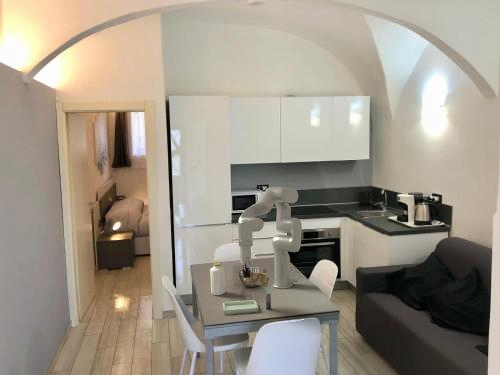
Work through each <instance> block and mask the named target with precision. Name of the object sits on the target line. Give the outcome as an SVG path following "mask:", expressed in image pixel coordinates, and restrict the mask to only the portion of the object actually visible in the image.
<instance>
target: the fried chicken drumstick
mask: <svg viewBox="0 0 500 375" xmlns="http://www.w3.org/2000/svg"><path fill="white" fill-rule="evenodd" d="M243 281H244V282H248V283H252V284H255V285H257V286H260V287H266V288H267V287H268V284H269V281H270V276H268V274H265V273H263V272H262V273H261V272H258V271H256V272H254V271H251V270H250V278H244V277H243Z"/></svg>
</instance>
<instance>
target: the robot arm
mask: <svg viewBox="0 0 500 375" xmlns="http://www.w3.org/2000/svg"><path fill="white" fill-rule="evenodd" d="M298 199H299V193H298V190H297V189H294V188H289V187H285V186H284V187H281V186H270V187H267V188H266V189H265V191H264V193H263V194H262V195H261V197H260V198H259V200H258V201H257V202H256V203H254V204H252V205H251V206H249V207H247V208H246V209H245V210H244V211H243V212H242V213H241V214H240V216H239V219H238V220H237V228H238V229H237V231H238V232H237V233H238V247H239V248H240V249H239V253H240V254H239V262H240V264H241V266H242V276H243V279H244V278H250V271H251V270H250V267H251V265H252V248H251V247H253V245H254V244H253V243H254V242H253V241H254V239H253V237H254V236H253V233H257V232H260V231H262V230H263V228H264V225H265V222H264V220H263V219H262V218H259V217H258V216H263V215H266V214H269V213H270V212H271V210H272V209H273V207H274V206H275V208H276V218H275V219H276V220H275V229H276V231H277V232H279V233H282V234H276V235H274V236H273V238H272V240H271V244H272V245H271V246H272V250H273V258H274V259H273V265H274V268H273V269H274V271H273V272H274V281H273V282H272V284H271V286H272V287H273V288H275V289H289V288H292V287H293V285H294V284H293V283H299V280H298V278H295V277H293V278H291V262H290V261H291V257H290V255H289V253H290V252H291V253H296V252H297V253H298V252H299V251H300V249H301V243H302V234H303V233H302V228H303V226H302V225H303V224H302V221H301V220H300V218H297V217H291V216H292V215H291V213H292V212H291V211H292V208H291V206H290V205H289V204H295V203H296V202H298ZM283 233H284V234H283ZM287 234H291V235H287ZM288 252H289V253H288Z"/></svg>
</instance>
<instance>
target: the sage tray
mask: <svg viewBox="0 0 500 375" xmlns="http://www.w3.org/2000/svg"><path fill="white" fill-rule="evenodd" d="M221 303H222V304H221V305H222V311H223V315H224V316H227V315H243V314H253V313H252V312H256V313H259V306H258V303H257V301H256V299H248V300H235V301H234V300H233V301H222V302H221Z"/></svg>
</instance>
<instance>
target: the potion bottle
mask: <svg viewBox="0 0 500 375" xmlns="http://www.w3.org/2000/svg"><path fill="white" fill-rule="evenodd" d="M209 272H210V294H211V295H214V296H222V295H224V294H225V292H226V275H225V268H224V267H223V266H222V264H221V263H220V262H214V263H213V267H211V268H210V270H209Z"/></svg>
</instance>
